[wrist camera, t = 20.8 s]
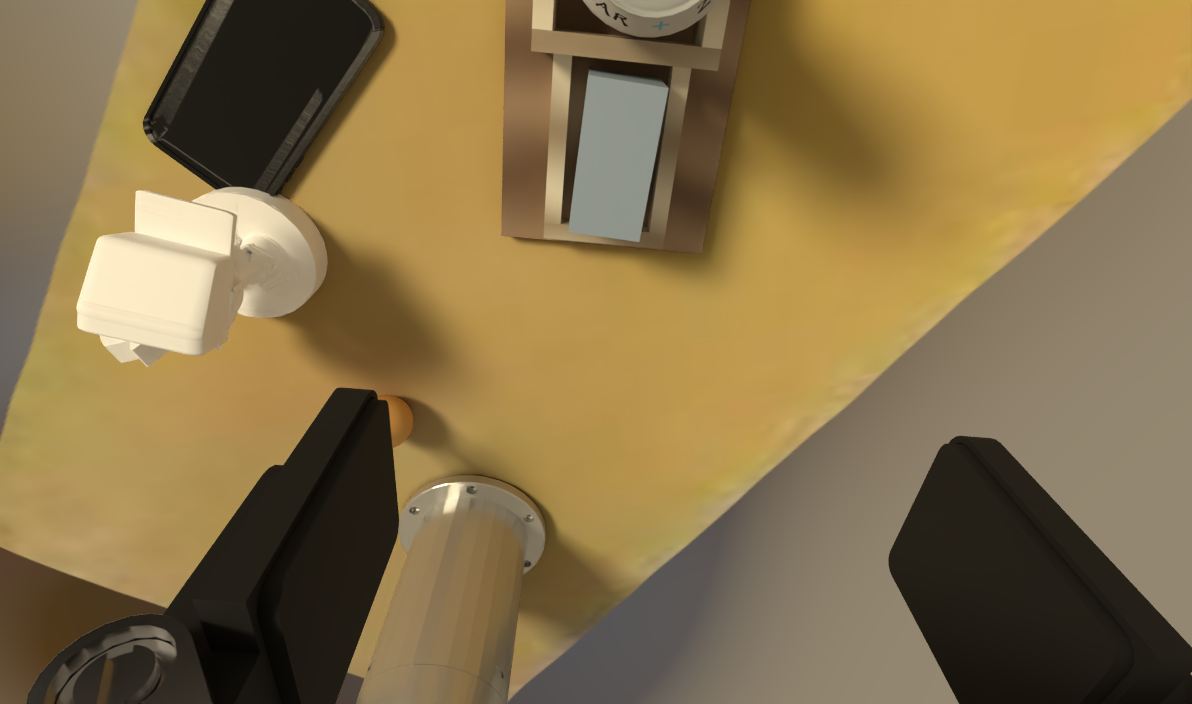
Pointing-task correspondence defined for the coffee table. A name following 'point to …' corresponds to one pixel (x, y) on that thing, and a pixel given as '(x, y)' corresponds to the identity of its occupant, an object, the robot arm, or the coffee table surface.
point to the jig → (556, 102)
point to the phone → (259, 86)
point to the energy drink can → (650, 15)
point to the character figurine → (198, 271)
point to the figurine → (398, 419)
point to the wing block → (616, 153)
